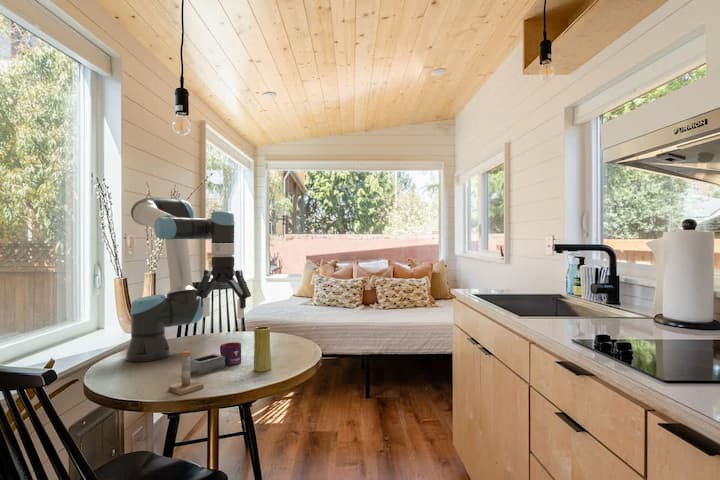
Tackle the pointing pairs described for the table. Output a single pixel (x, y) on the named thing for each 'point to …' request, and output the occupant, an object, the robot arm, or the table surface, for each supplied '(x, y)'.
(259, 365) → the vase
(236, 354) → the mug
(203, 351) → the table surface
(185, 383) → the keeper post
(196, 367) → the link
